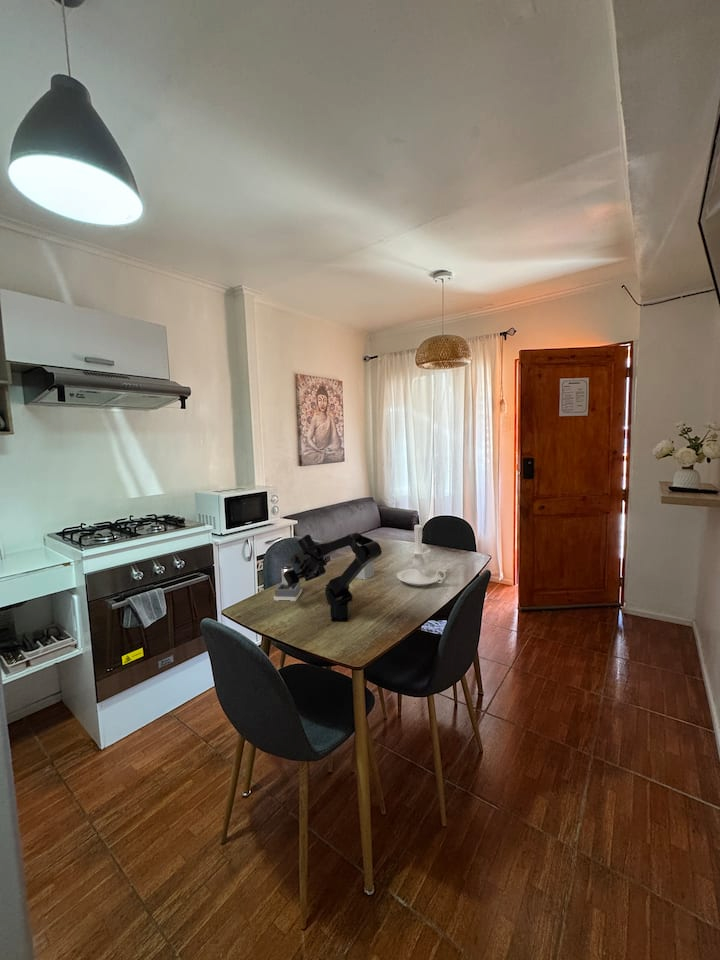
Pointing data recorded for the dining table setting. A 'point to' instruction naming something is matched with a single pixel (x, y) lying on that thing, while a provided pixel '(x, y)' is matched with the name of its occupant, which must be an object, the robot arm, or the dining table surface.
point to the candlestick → (419, 565)
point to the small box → (367, 571)
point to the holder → (287, 593)
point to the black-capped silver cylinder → (284, 583)
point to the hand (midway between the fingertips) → (297, 583)
